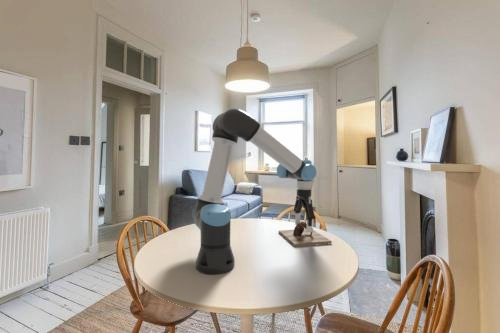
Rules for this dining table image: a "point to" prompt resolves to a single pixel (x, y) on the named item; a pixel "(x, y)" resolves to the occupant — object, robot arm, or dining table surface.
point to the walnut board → (304, 238)
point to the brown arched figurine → (300, 229)
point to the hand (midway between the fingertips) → (303, 228)
